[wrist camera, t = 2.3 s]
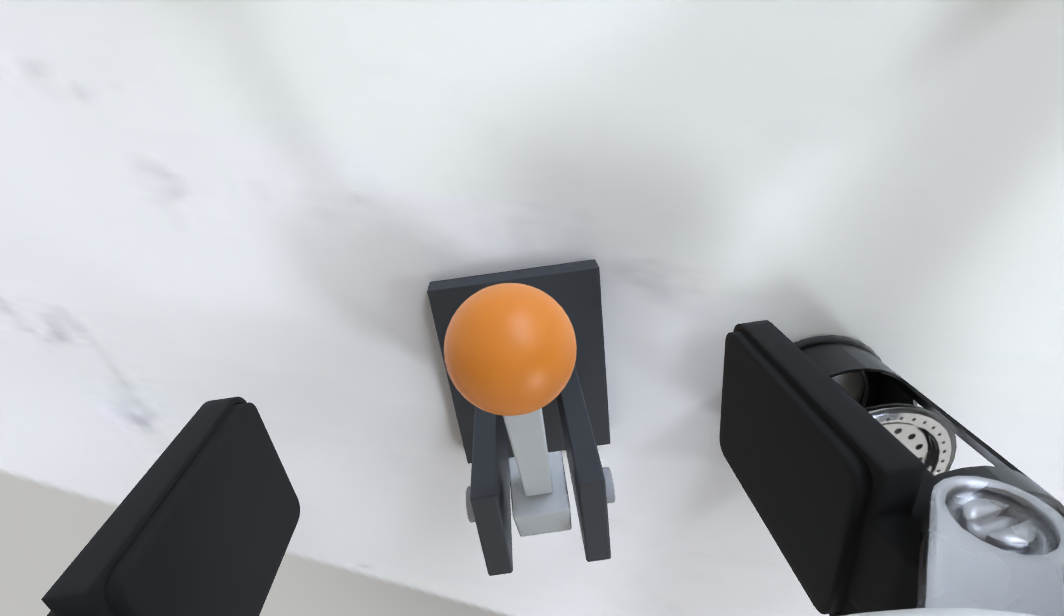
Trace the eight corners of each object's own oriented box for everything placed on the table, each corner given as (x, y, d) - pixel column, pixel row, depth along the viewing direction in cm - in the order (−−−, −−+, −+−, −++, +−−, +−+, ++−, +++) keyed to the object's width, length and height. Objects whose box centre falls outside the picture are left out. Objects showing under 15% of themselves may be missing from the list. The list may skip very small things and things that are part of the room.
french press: (703, 392, 32) (1092, 1012, 11) (837, 298, 29) (1647, 868, 9) (792, 487, 36) (1188, 1057, 15) (914, 412, 34) (1575, 969, 13)
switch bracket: (429, 281, 27) (389, 425, 17) (595, 259, 27) (659, 387, 17) (468, 450, 32) (456, 639, 22) (606, 431, 33) (660, 610, 22)
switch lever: (430, 265, 12) (428, 382, 10) (563, 247, 12) (588, 359, 10) (503, 473, 23) (509, 549, 21) (572, 464, 23) (585, 538, 21)
